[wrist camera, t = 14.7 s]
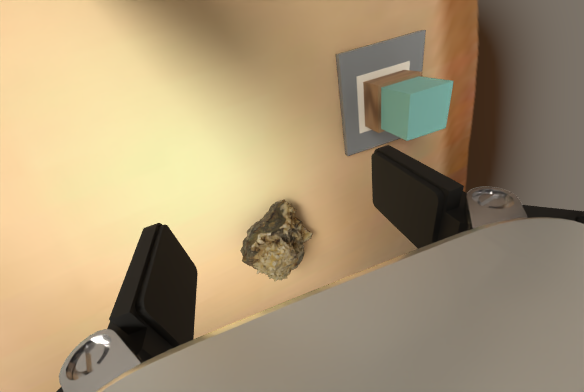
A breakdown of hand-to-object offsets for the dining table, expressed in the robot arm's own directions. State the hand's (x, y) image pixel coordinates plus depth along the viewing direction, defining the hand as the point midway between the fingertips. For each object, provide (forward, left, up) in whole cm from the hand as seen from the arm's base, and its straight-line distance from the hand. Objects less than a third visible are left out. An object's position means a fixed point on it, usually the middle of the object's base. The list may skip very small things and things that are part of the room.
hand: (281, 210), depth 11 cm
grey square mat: (+6, +23, -28) cm, 37 cm away
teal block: (+6, +23, -23) cm, 33 cm away
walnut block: (+6, +23, -27) cm, 36 cm away
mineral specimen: (+26, 0, -29) cm, 39 cm away
